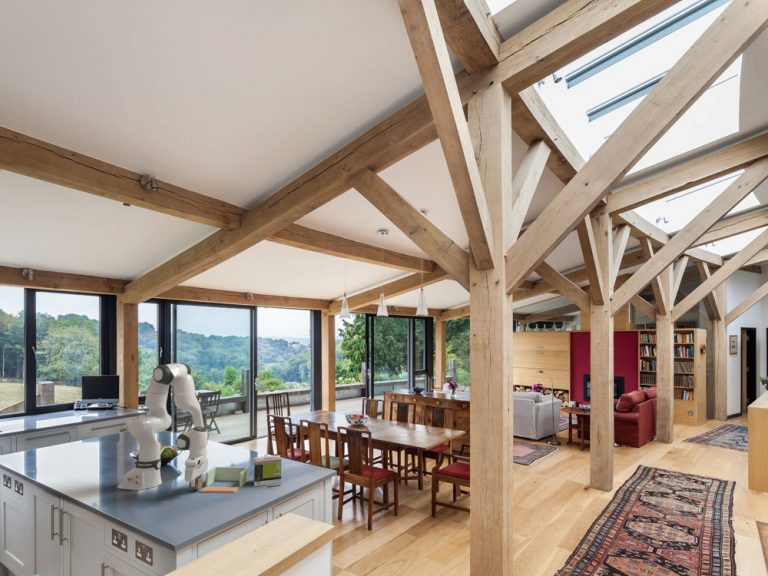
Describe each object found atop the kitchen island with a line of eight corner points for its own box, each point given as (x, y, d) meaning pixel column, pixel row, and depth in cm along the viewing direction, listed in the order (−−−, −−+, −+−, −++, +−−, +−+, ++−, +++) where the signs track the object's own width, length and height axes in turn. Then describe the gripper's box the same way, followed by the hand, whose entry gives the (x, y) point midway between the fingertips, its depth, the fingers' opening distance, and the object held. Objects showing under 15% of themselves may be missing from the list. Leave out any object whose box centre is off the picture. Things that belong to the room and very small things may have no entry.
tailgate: (205, 489, 243) (199, 492, 236) (205, 486, 243) (200, 490, 236) (239, 489, 243) (234, 493, 235) (239, 486, 243) (234, 490, 235)
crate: (205, 489, 244) (206, 473, 245) (214, 481, 256) (215, 466, 257) (241, 489, 244) (241, 473, 245) (248, 482, 256) (248, 467, 257)
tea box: (279, 480, 259) (280, 454, 261) (281, 485, 250) (281, 459, 252) (253, 482, 255) (254, 456, 256) (253, 488, 245) (254, 461, 247)
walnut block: (188, 489, 236) (189, 479, 237) (193, 485, 241) (193, 476, 242) (198, 489, 236) (198, 479, 237) (202, 486, 241) (202, 476, 242)
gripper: (200, 452, 251) (198, 477, 249) (183, 463, 230) (181, 490, 229) (211, 453, 251) (209, 478, 249) (194, 463, 230) (192, 491, 229)
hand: (195, 484), depth 239 cm, fingers closed on walnut block, 5 cm apart
